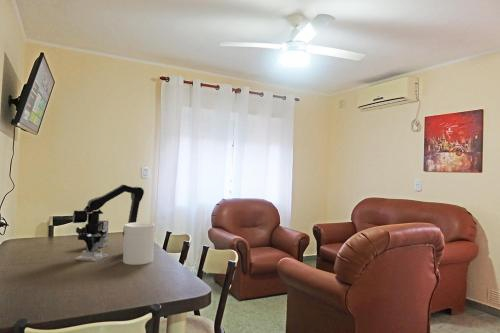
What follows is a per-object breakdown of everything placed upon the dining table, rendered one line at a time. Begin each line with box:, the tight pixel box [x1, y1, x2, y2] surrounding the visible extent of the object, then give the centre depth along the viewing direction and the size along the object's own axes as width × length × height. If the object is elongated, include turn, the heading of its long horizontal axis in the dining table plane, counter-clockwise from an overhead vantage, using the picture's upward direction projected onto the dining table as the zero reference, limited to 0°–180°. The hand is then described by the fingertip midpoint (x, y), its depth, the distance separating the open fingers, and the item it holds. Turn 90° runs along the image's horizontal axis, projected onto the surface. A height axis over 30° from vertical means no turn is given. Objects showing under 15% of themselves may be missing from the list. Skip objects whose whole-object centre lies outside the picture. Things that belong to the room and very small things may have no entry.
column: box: [85, 242, 99, 252], centre depth 188 cm, size 4×4×7 cm
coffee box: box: [98, 219, 109, 248], centre depth 216 cm, size 9×6×16 cm
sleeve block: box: [74, 248, 109, 262], centre depth 188 cm, size 12×12×4 cm
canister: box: [122, 221, 156, 266], centre depth 186 cm, size 16×16×20 cm
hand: (92, 249), depth 188 cm, fingers closed on column, 4 cm apart
